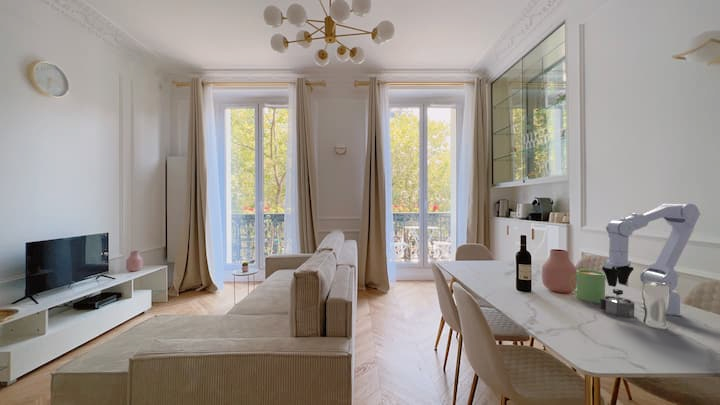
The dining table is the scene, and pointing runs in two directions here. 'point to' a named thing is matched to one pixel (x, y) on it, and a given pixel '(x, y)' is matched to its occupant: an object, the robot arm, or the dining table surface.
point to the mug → (590, 285)
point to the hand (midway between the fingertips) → (617, 285)
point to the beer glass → (655, 304)
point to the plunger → (617, 296)
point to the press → (617, 307)
